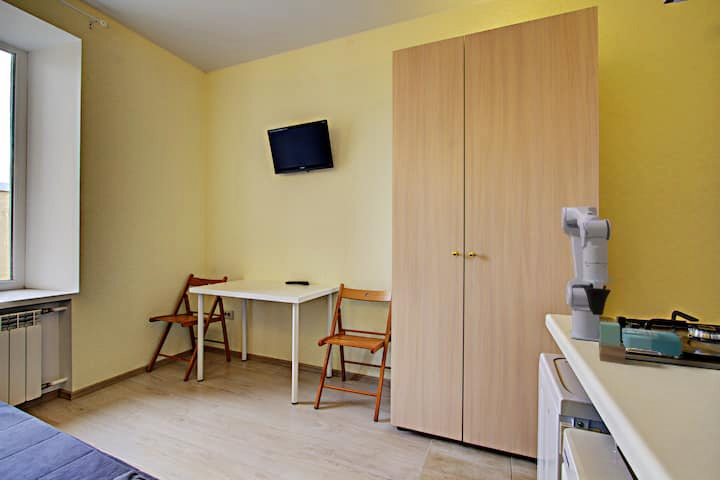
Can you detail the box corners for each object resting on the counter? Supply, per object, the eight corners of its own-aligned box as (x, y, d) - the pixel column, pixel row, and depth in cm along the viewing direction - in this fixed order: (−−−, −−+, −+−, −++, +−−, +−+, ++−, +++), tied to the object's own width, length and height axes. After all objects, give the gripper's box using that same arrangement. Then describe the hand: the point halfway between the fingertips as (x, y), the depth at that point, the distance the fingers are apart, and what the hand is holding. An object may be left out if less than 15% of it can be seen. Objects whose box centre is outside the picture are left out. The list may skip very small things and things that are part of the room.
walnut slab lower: (599, 357, 92) (599, 348, 92) (623, 360, 90) (622, 351, 90) (600, 362, 88) (600, 353, 88) (625, 366, 86) (624, 356, 86)
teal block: (599, 340, 92) (599, 321, 92) (618, 342, 90) (618, 323, 90) (600, 344, 88) (600, 324, 89) (620, 346, 86) (619, 326, 86)
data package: (623, 335, 95) (621, 327, 105) (623, 352, 95) (622, 342, 105) (683, 342, 88) (675, 332, 98) (683, 360, 88) (675, 349, 98)
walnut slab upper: (598, 348, 92) (598, 339, 92) (622, 351, 90) (622, 342, 90) (601, 353, 88) (600, 344, 88) (625, 356, 86) (625, 347, 86)
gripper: (617, 264, 89) (618, 318, 89) (609, 262, 102) (609, 310, 101) (584, 263, 92) (584, 315, 92) (580, 262, 105) (581, 308, 105)
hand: (596, 312), depth 97 cm, fingers open, 7 cm apart
